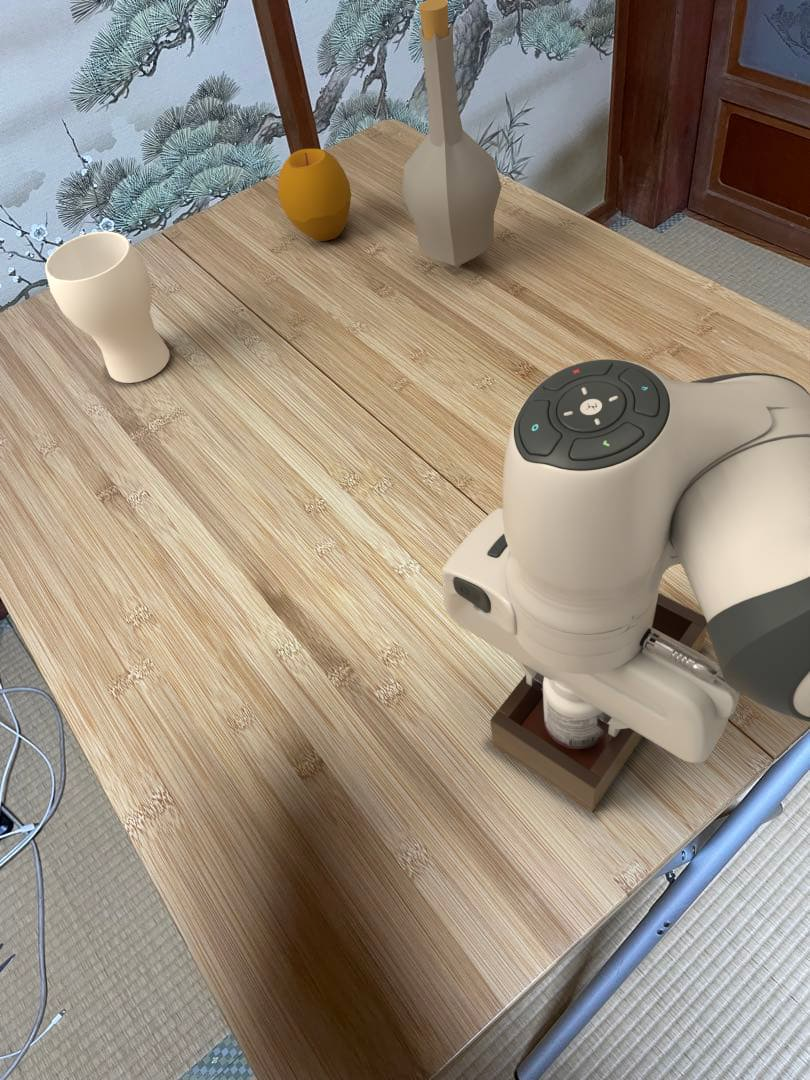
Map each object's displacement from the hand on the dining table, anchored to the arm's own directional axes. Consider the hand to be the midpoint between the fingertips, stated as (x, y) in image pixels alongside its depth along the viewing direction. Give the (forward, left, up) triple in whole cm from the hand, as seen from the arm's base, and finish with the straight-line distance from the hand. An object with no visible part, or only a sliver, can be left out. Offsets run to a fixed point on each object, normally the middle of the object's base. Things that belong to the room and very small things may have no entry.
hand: (575, 702), depth 62 cm
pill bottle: (0, 0, -3) cm, 3 cm away
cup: (+69, -11, -6) cm, 70 cm away
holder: (0, -4, -6) cm, 7 cm away
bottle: (+46, -46, -6) cm, 65 cm away
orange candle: (+67, -43, -6) cm, 80 cm away
